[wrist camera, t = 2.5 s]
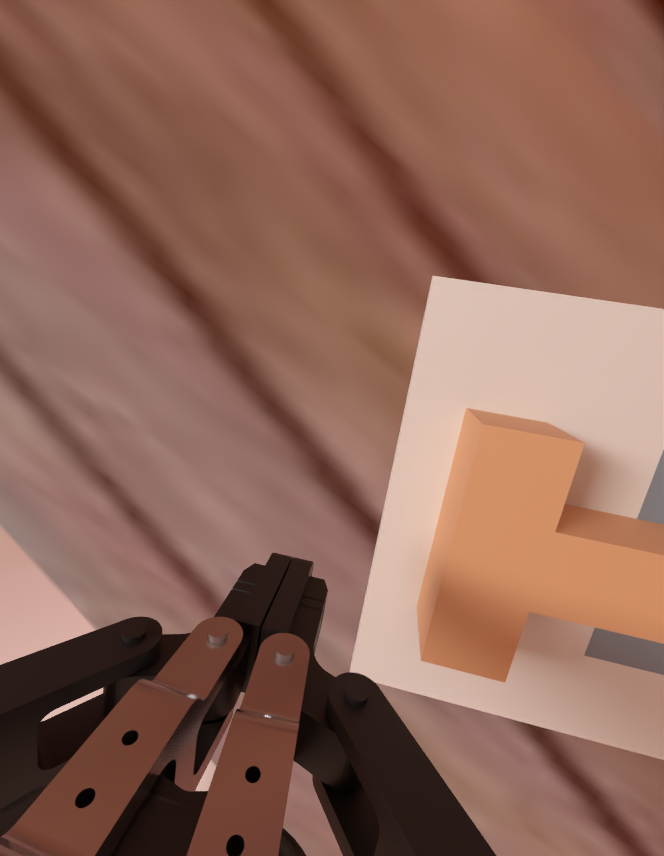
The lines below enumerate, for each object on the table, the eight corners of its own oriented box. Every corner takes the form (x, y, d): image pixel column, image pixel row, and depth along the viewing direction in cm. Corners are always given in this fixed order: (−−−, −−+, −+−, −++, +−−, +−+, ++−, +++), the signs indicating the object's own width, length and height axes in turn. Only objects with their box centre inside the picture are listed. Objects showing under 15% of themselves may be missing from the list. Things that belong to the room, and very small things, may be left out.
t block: (722, 454, 18) (808, 484, 15) (634, 660, 21) (687, 730, 18) (466, 407, 20) (482, 424, 16) (416, 606, 23) (420, 660, 19)
